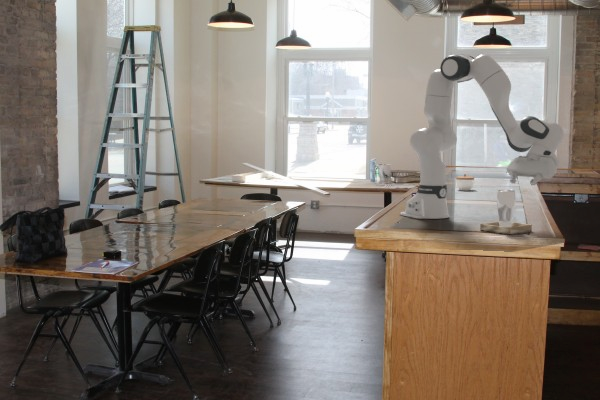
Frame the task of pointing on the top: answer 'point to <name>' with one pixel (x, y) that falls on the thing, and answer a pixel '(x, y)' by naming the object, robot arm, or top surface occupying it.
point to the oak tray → (506, 228)
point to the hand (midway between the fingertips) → (522, 183)
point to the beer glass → (506, 207)
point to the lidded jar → (464, 182)
